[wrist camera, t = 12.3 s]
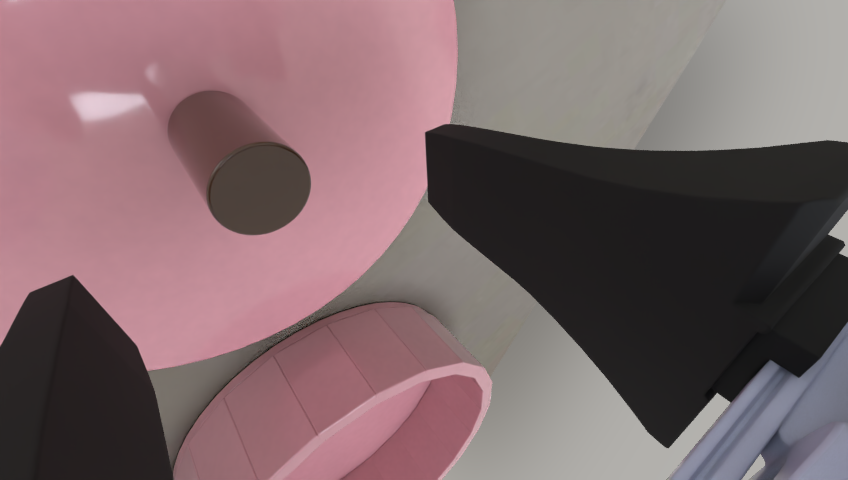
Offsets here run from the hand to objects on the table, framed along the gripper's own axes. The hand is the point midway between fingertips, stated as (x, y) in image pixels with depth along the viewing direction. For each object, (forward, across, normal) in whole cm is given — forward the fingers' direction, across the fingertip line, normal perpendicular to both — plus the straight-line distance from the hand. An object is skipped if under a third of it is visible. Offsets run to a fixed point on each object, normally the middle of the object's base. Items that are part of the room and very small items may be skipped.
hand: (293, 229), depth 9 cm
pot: (+6, 0, +19) cm, 20 cm away
